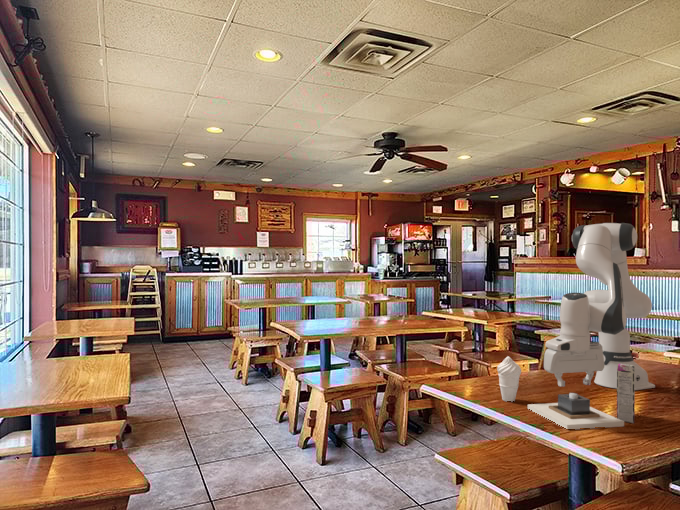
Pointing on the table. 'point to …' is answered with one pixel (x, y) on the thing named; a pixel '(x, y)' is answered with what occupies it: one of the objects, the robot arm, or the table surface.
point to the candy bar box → (626, 393)
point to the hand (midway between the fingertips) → (574, 385)
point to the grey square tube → (573, 405)
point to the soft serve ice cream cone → (508, 378)
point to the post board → (575, 416)
